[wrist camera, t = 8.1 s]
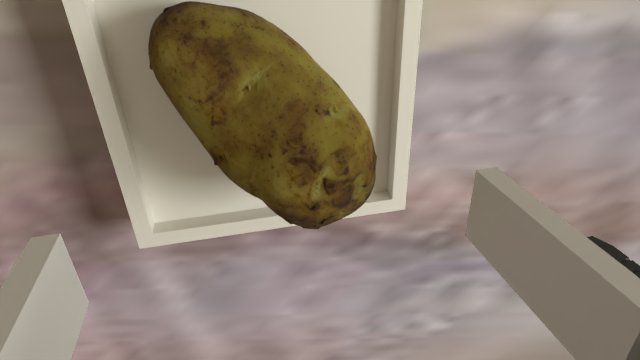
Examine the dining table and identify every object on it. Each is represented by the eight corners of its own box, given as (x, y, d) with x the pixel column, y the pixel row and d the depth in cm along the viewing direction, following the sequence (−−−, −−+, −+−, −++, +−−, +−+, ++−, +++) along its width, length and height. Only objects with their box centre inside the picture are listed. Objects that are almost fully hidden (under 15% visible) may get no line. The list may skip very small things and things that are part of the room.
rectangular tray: (147, 216, 30) (139, 248, 27) (63, -78, 21) (36, -80, 18) (387, 183, 33) (404, 209, 30) (402, -88, 24) (430, -92, 21)
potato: (277, -57, 22) (305, -53, 15) (366, 144, 28) (413, 210, 22) (134, 20, 22) (97, 58, 15) (256, 200, 29) (268, 282, 22)
